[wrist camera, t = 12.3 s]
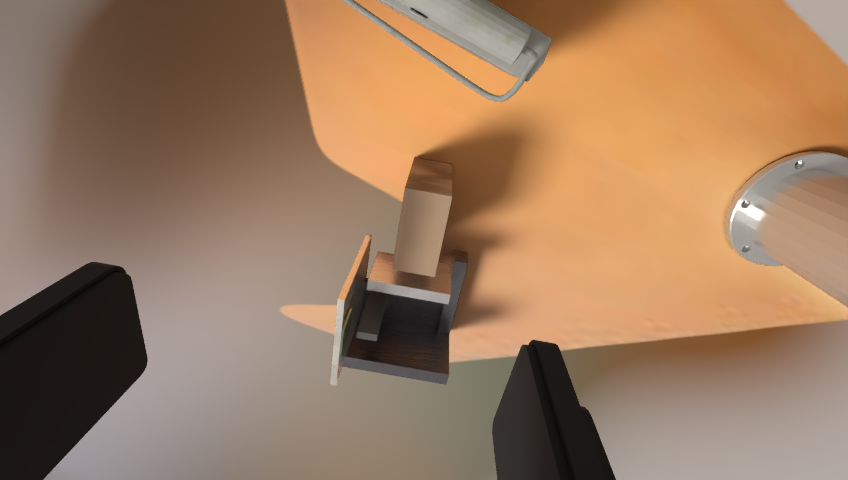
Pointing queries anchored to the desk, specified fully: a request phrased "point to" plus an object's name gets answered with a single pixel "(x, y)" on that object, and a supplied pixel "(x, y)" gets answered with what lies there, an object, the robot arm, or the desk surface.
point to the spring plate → (409, 281)
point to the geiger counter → (473, 36)
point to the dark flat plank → (372, 316)
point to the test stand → (396, 328)
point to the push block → (423, 217)
